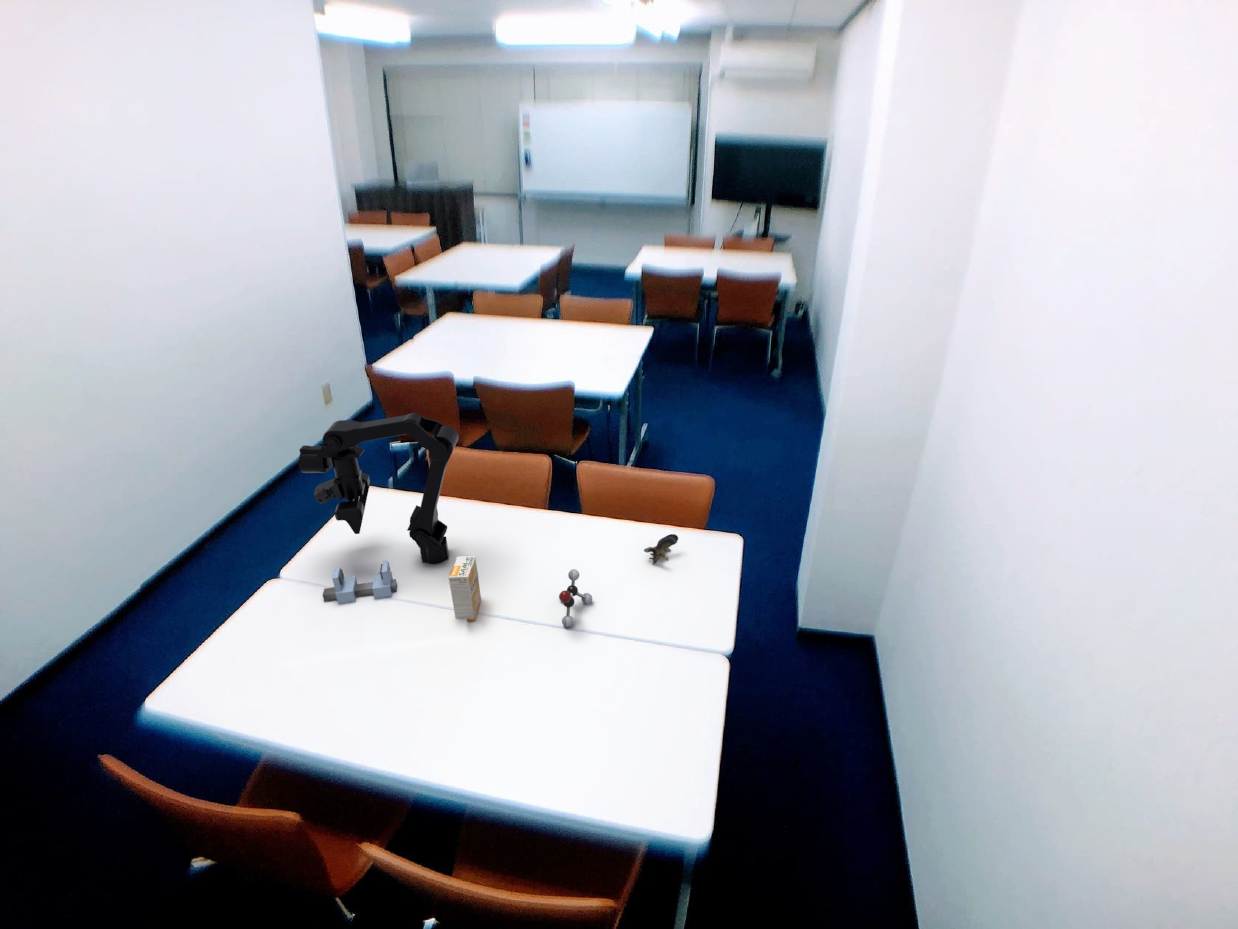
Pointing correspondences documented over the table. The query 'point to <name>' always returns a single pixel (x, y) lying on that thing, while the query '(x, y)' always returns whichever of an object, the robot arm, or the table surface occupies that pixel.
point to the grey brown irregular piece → (662, 547)
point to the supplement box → (465, 588)
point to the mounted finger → (382, 582)
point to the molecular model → (569, 600)
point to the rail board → (356, 590)
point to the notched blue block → (344, 586)
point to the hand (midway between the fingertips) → (359, 523)
